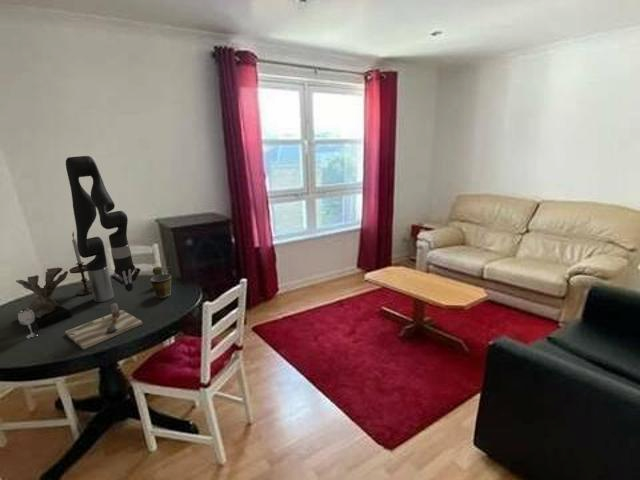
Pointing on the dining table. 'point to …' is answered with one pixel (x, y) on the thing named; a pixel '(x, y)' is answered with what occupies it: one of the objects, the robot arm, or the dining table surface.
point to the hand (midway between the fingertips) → (129, 290)
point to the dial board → (101, 329)
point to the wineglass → (27, 319)
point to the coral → (46, 299)
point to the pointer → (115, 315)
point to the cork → (157, 271)
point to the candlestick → (80, 270)
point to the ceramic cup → (162, 285)
